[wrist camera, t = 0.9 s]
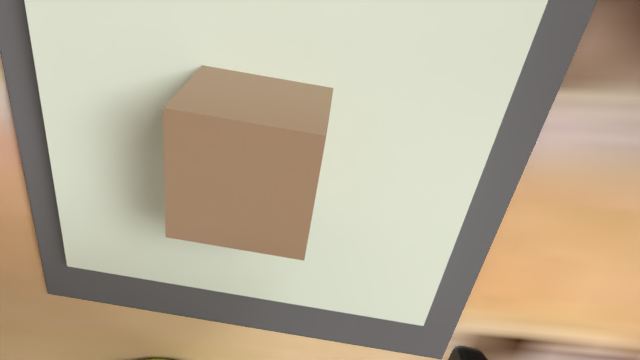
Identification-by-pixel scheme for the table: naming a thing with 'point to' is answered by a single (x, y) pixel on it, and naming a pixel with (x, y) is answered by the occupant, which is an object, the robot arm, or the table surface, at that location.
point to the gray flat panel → (429, 340)
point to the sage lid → (275, 139)
